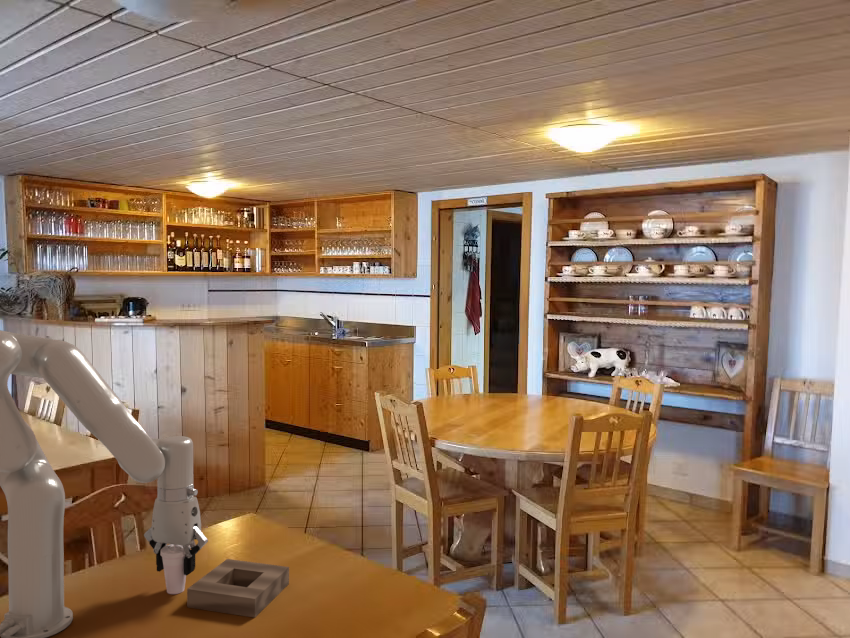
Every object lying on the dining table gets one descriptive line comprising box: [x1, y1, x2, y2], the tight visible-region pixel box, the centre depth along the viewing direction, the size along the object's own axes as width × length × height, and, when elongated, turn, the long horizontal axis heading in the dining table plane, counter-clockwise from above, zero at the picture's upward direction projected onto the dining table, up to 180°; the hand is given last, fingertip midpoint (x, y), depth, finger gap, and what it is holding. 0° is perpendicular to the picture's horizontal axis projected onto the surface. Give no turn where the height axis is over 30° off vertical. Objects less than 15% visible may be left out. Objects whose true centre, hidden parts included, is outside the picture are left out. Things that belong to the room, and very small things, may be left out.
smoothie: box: [160, 544, 190, 595], centre depth 147 cm, size 6×6×14 cm
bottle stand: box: [186, 558, 290, 618], centre depth 145 cm, size 16×16×4 cm
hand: (175, 570), depth 147 cm, fingers closed on smoothie, 6 cm apart
